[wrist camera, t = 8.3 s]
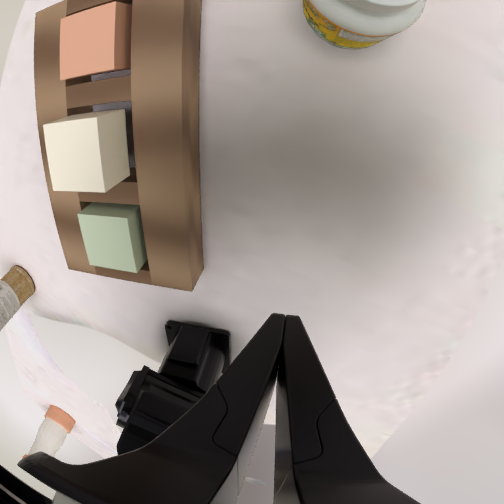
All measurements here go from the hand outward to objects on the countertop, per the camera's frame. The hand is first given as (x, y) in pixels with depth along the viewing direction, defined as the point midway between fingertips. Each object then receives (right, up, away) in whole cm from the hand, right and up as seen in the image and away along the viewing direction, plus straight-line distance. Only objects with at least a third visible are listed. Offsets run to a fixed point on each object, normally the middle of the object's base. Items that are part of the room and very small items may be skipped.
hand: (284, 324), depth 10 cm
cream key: (-11, +9, +8) cm, 17 cm away
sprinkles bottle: (-30, -1, +22) cm, 37 cm away
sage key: (-11, +4, +14) cm, 18 cm away
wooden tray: (-10, +11, +11) cm, 19 cm away
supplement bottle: (+5, +17, +4) cm, 18 cm away
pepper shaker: (-46, -36, +48) cm, 76 cm away
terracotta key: (-10, +16, +6) cm, 20 cm away
